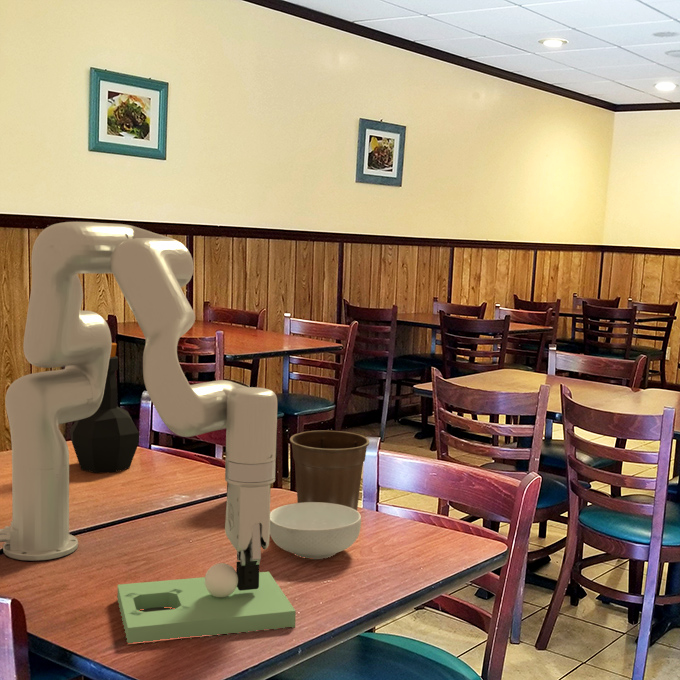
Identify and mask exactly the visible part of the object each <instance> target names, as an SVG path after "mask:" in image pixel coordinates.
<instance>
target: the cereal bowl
mask: <svg viewBox="0 0 680 680" xmlns="http://www.w3.org/2000/svg"><path fill="white" fill-rule="evenodd" d="M361 526H362V515H361V513H360V512H359V511H358V510H357V511H356V510H354V509H352V508H350V507H347V506H343V505H339V504H333V503H323V502H304V503H297V502H296V503H295V502H294V503H289V504H286V505H281V506H277V507H276V508H274V509H272V510H270V537H271V540H273V542H274V543H275V545H276V546H277V547H279V548H280V549H282V550H284V551H286V552H288V553H291V554H293V553H294V554H293V555H295V554H296V555H298V556H301V557H305V558H313V559H312V560H324V559H323V558H325V559H329V558H332V557H334V556H335V555H336V554H337V553H339V552H343V551H345V550H347V549H348V548H350V547H351V546H352V545H353V544H354V543H355V542H356V541H357V539H358V538H359V535H360V532H361ZM296 555H295V556H296ZM333 555H334V556H333ZM298 556H297V557H298ZM331 556H332V557H331ZM301 557H300V558H301ZM328 557H329V558H328ZM305 558H304V559H305Z"/></svg>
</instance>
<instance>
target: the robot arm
mask: <svg viewBox="0 0 680 680" xmlns="http://www.w3.org/2000/svg"><path fill="white" fill-rule="evenodd" d="M31 251H32V252H31V288H30V296H29V301H28V306H27V307H28V309H27V315H26V321H25V329H24V334H23V345H22V346H23V355H24V357H25V358H26V360H27V362H28V363H29V364H31V365H32V366H35V367H36V368H41V369H43V368H44V369H49V368H50V369H52V368H53V369H54V368H61V367H64V368H63V369H58V370H49V371H48V370H46V371H40V372H33V373H29V374H26V375H23V376H20V377H19V378H17V379H15V380H13V382H12V383H11V384H10V385H9V386H8V389H7V391H6V394H5V400H4V401H5V410H6V415H7V419H8V424H9V432H10V439H11V440H10V441H11V476H12V477H11V478H12V479H11V480H12V481H11V482H12V484H11V485H12V487H11V488H12V489H11V491H12V492H11V495H12V497H11V498H12V500H11V501H12V504H11V506H12V507H11V508H12V513H11V514H12V521H11V520H10V525H8V526H7V525H6V526H4V528H0V543H3V545H2V548H3V549H2V550H3V554H4V555H5V556H7V557H8V558H11V559H14V560H20V561H29V562H30V561H32V562H34V561H47V560H53V559H58V558H62V557H65V556H68V555H70V554H72V553H74V552H75V551H76V550H77V549H78V547H79V546H78V545H79V540H78V538H77V536H74V535H72V534H70V451H69V446H68V443H67V441H66V439H65V437H64V436H63V433H62V431H61V429H60V425H62V424H63V425H64V424H67V423H70V422H71V423H72V422H75V421H77V420H81V419H85V418H88V417H90V416H92V415H93V414H94V413H95V412H96V411H97V410H98V408H99V407H100V404H101V402H102V398H103V394H104V389H105V383H106V377H107V371H108V365H109V360H110V354H111V344H112V343H113V342H112V334H111V330H110V327H109V324H108V322H107V321H106V320H105V318H104V317H103V316H102V315H100V314H99V313H97V312H94V311H93V310H92V311H91V310H82V305H83V301H84V300H83V299H84V293H83V292H84V291H83V286H82V282H81V279H80V277H79V275H78V274H83V275H84V274H101V275H102V274H112V275H113V277H114V279H115V281H116V283H117V285H118V287H119V289H120V290H121V292H122V295H123V296H124V298H125V300H126V302H127V305H128V307H129V308H130V310H131V311H132V314H133V316H134V318H135V321H136V322H137V323H138V326H139V328H140V330H141V331H142V334H143V336H144V338H145V345H144V349H143V355H142V375H143V382H144V386H145V389H146V391H147V394H148V396H149V398H150V401H151V402H152V404H153V406H154V408H155V410H156V413H157V414H158V416H159V418H160V419H161V421H162V422H163V423H164V425H165V426H166V427H167V428H168V429H169V430H170V432H172V433H174V435H175V434H176V435H177V436H179V437H187V438H189V437H194V436H195V437H197V436H200V435H203V434H206V433H211V432H217V431H220V430H225V429H226V433H225V436H226V437H225V462H224V463H225V468H224V469H225V470H224V472H225V473H224V477H225V478H224V479H225V482H226V483H227V482H228V492H227V491H226V509H225V523H224V533H225V536H226V537H227V539H228V540H229V542H230V543H231V545H232V547H233V548H234V549H235V550H236V560H237V561H236V569H235V571H236V573H237V576H238V584H237V587H238V589H239V590H240V591H241V590H252V589H258V588H259V572H260V565H261V564H260V561H261V559H262V553H261V548H262V550H267V549H268V547H269V546H270V540H271V539H270V537H271V535H270V512H271V489H270V490H269V484H270V485H271V484H273V483H275V481H276V471H277V470H276V468H277V467H276V465H277V463H276V462H277V459H276V458H277V432H278V431H277V430H278V429H277V428H278V396H277V394H276V393H275V392H274V391H273V390H272V389H268V388H264V387H257V386H255V387H253V386H251V387H250V386H246V385H242V384H240V383H237V382H234V381H232V380H225V379H222V380H221V379H219V380H218V379H217V380H212V381H207V382H201V383H194V384H190V383H189V381H188V379H187V377H186V376H185V375H186V374H185V373H184V372H183V369H182V366H181V365H180V362H179V361H180V360H179V357H178V344H179V341H180V338H181V337H182V336H184V335H185V334H187V332H188V331H189V330H190V329H192V327H193V325H194V324H195V322H196V314H195V311H194V310H193V308H192V306H191V304H190V302H189V301H188V298H187V297H186V295H185V294H184V291H183V289H182V288H183V287H186V285H188V283H189V282H190V281H191V279H192V278H193V277H192V276H193V274H194V269H195V267H194V260H193V257H192V254H191V253H190V251H189V249H188V248H187V247H186V246H185V244H183V243H182V242H181V241H179V240H177V239H174V238H172V237H169V236H166V235H162V234H159V233H155V232H152V231H150V230H147V229H144V228H140V227H139V226H138V227H137V226H134V225H130V224H123V223H107V222H96V221H95V222H94V221H65V222H59V223H54V224H50V225H48V226H47V227H45V228H44V229H43V230H42V231H40V233H39V235H38V236H37V237H36V238H35V241H34V244H33V247H32V250H31Z"/></svg>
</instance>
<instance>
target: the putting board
mask: <svg viewBox="0 0 680 680" xmlns="http://www.w3.org/2000/svg"><path fill="white" fill-rule="evenodd" d="M117 599H118V600H117V604H118V603H119V605H118V608H120V609H119V612H121V614H120V617H121V616H122V618H121V622H122V621H123V622H122V626H123V625H124V627H123V629H125V631H124V634H125V633H126V636H125V639H126V638H127V640H126V643H127V642H128V643H133V642H143V641H153V640H160V639H170V638H178V637H179V638H180V637H190V636H202V635H217V634H227V635H229V634H228V633H237V634H240V633H239V632H246V633H249V632H248V631H255V632H257V631H256V630H264V629H274V630H278V629H277V628H283V629H286V628H285V627H292V628H296V617H297V615H296V611H297V610H296V609H295V607H294V606H293V605H292V603H291V602H290V600H289V599H288V597H287V596H286V595H285V593H284V592H283V590H282V588H281V587H280V585H279V584H278V583H277V582H276V580H275V578H274V577H273V576H272V573H270V571H259V588H258V589H252V590H241V591H240V590H239V589H238V587H236V589H235V590H234V592H233V593H232V594H230V595H229V596H226V597H215V596H213V595H211V594H210V593H209V592H208V590H207V589H206V586H205V576H202V577H193V578H192V577H191V578H189V577H188V578H180V579H178V578H177V579H167V580H156V581H145V582H133V583H122V584H117ZM164 607H172V608H175V609H170V608H164ZM140 609H144V610H142V611H139V610H140ZM264 631H265V630H264Z"/></svg>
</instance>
